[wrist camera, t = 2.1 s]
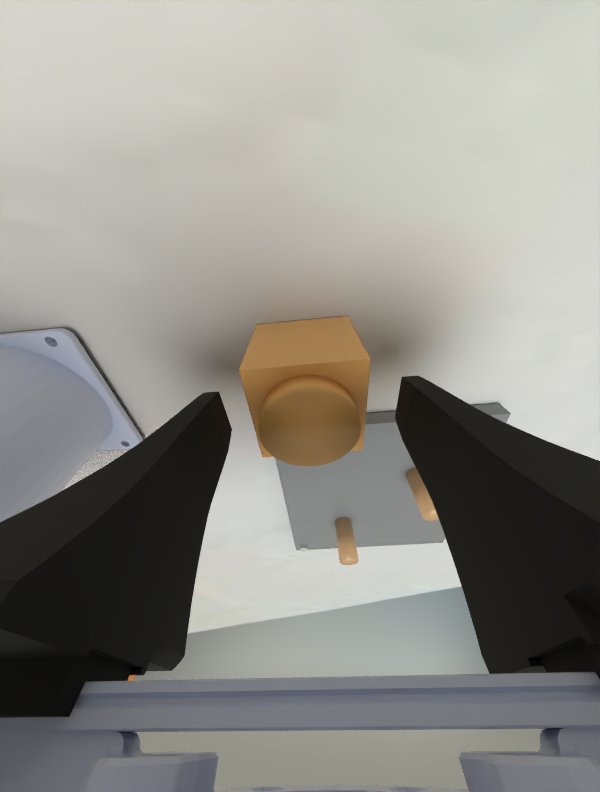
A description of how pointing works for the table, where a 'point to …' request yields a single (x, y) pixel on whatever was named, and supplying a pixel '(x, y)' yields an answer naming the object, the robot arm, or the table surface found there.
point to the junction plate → (364, 494)
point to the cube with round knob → (307, 389)
